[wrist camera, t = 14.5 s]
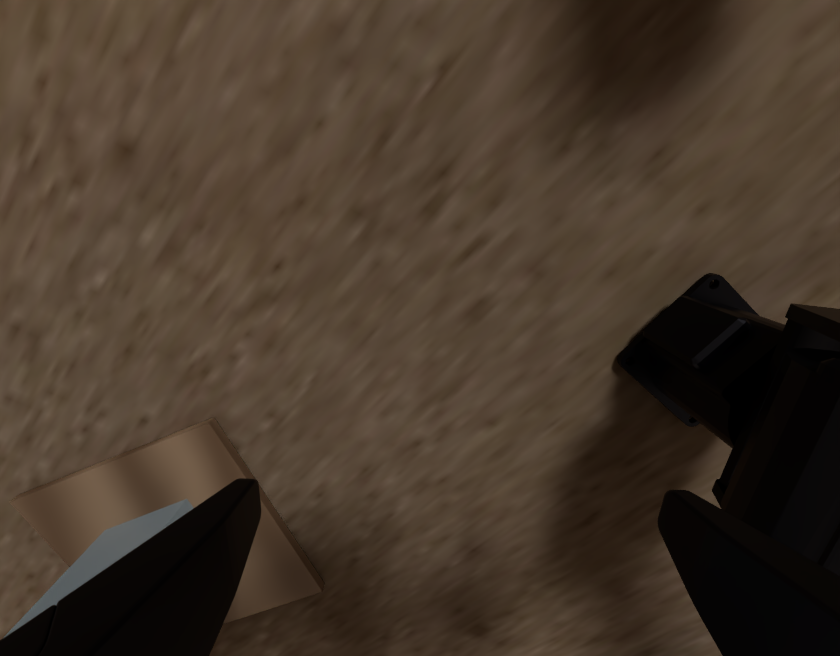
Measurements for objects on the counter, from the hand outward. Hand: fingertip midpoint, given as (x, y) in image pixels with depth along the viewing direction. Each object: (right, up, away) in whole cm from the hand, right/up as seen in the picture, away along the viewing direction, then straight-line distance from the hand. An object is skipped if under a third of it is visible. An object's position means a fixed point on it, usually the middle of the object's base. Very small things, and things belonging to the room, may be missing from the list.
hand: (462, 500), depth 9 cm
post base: (-17, -10, +17) cm, 26 cm away
